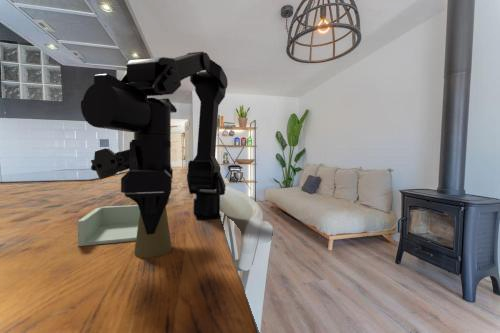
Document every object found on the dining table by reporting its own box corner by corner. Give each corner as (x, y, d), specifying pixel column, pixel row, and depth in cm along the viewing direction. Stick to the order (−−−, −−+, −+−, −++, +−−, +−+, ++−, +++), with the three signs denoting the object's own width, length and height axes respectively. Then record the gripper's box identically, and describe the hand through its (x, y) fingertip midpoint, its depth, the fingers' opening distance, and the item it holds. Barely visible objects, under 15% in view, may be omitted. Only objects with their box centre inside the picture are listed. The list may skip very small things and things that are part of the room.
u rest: (151, 222, 54) (150, 204, 53) (145, 239, 43) (145, 216, 43) (98, 226, 50) (98, 207, 50) (78, 246, 40) (77, 221, 39)
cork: (128, 259, 35) (128, 191, 34) (140, 244, 41) (139, 185, 40) (168, 256, 36) (168, 190, 36) (174, 242, 42) (174, 185, 42)
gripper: (113, 136, 44) (114, 214, 45) (71, 126, 26) (74, 254, 27) (172, 139, 47) (172, 210, 48) (170, 130, 30) (171, 243, 31)
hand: (153, 224), depth 38 cm, fingers open, 9 cm apart
